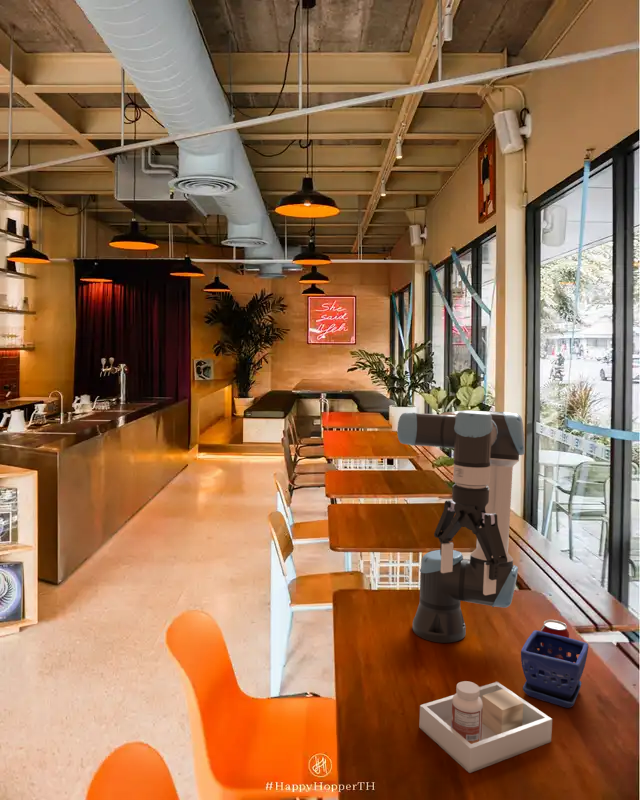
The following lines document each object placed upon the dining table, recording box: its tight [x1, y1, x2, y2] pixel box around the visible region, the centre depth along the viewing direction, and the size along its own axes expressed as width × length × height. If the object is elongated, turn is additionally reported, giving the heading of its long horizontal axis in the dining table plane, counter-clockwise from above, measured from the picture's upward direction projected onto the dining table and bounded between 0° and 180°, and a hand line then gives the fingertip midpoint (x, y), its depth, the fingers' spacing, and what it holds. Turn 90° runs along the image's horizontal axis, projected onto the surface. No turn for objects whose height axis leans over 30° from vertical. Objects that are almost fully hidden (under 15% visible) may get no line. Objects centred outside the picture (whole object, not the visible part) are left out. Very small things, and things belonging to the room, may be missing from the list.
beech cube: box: [482, 689, 523, 735], centre depth 132 cm, size 6×6×6 cm
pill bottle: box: [451, 680, 483, 744], centre depth 127 cm, size 6×6×11 cm
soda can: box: [540, 619, 570, 660], centre depth 157 cm, size 7×7×12 cm
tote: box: [418, 681, 553, 774], centre depth 130 cm, size 16×22×5 cm
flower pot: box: [520, 629, 589, 709], centre depth 146 cm, size 13×13×12 cm
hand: (466, 582), depth 131 cm, fingers open, 13 cm apart
